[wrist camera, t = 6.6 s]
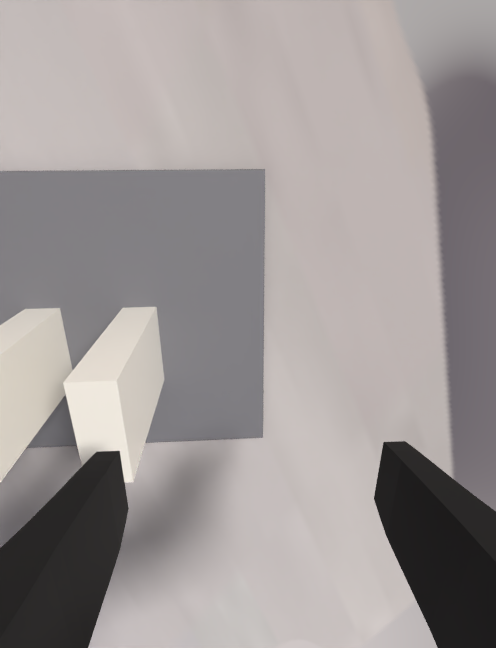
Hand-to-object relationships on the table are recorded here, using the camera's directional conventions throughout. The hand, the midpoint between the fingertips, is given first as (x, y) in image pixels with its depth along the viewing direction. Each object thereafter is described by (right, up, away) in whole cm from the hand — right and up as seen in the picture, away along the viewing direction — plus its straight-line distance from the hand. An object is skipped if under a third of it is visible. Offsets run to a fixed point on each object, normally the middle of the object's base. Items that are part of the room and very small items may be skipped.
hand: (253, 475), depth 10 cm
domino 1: (-10, +3, +8) cm, 13 cm away
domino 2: (-5, +3, +8) cm, 10 cm away
